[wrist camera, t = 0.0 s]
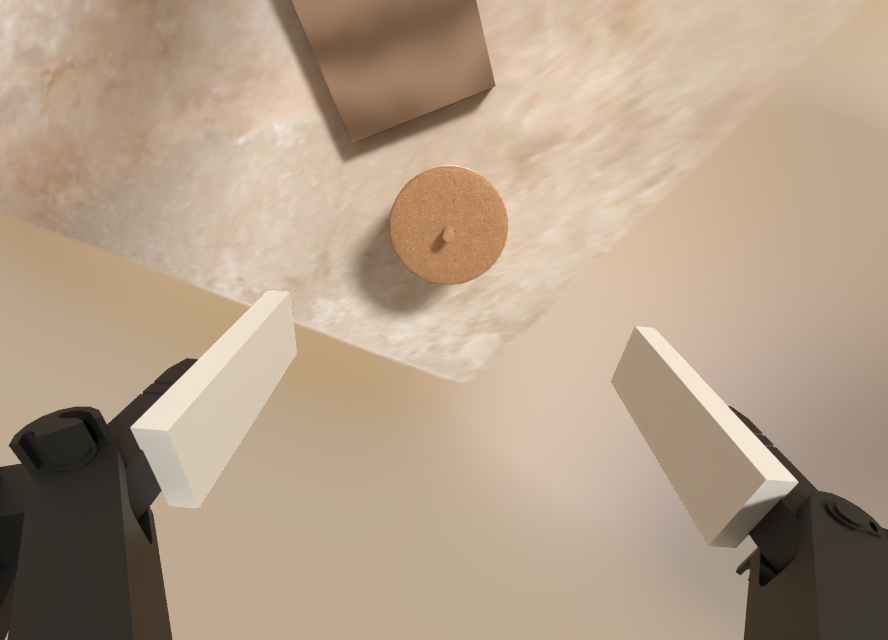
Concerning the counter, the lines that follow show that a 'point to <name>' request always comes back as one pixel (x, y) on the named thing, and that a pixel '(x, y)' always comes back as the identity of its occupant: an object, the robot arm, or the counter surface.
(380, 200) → the counter surface
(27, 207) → the counter surface
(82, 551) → the robot arm
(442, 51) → the walnut board
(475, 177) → the lidded jar
